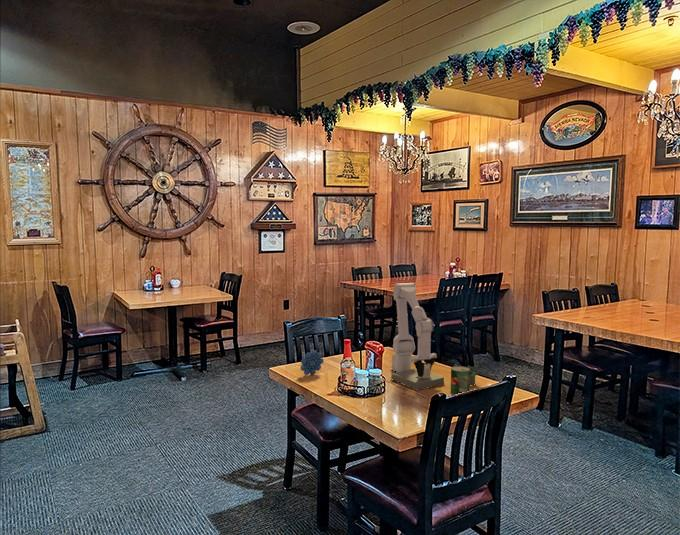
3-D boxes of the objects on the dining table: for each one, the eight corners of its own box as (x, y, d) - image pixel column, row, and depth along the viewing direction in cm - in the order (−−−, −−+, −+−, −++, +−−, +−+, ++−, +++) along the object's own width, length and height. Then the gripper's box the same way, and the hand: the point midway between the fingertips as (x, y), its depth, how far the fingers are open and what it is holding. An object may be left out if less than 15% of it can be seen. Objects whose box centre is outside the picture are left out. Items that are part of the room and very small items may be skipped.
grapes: (320, 371, 248) (320, 347, 247) (325, 375, 241) (325, 350, 240) (298, 373, 244) (298, 349, 243) (301, 377, 237) (301, 352, 236)
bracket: (479, 384, 227) (480, 365, 227) (464, 387, 223) (465, 368, 222) (465, 379, 235) (465, 360, 235) (450, 382, 231) (451, 363, 230)
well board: (391, 379, 234) (391, 373, 233) (416, 374, 243) (416, 368, 243) (418, 390, 219) (418, 383, 219) (443, 383, 228) (444, 377, 228)
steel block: (417, 380, 228) (417, 363, 227) (423, 378, 230) (424, 361, 229) (423, 382, 225) (424, 365, 224) (430, 380, 227) (430, 363, 226)
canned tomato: (446, 392, 216) (447, 367, 215) (458, 389, 221) (458, 364, 220) (461, 397, 210) (461, 372, 209) (473, 394, 214) (473, 368, 214)
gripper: (418, 350, 219) (418, 380, 220) (441, 345, 227) (441, 374, 228) (407, 347, 225) (407, 376, 226) (430, 342, 233) (430, 371, 234)
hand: (423, 375), depth 227 cm, fingers closed on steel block, 4 cm apart
